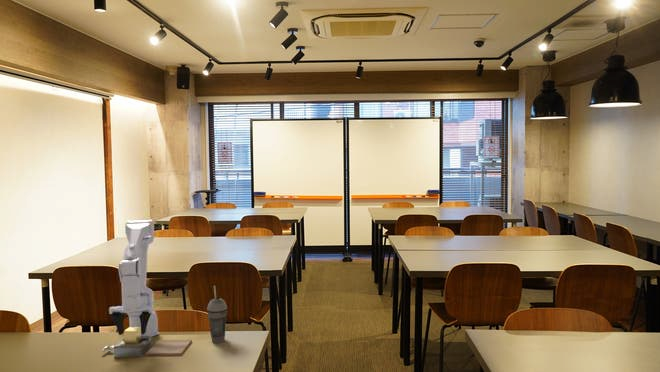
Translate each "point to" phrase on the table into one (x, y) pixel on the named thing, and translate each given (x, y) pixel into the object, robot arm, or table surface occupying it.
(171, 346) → the board
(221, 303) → the beverage cup
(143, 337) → the vise
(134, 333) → the peg
